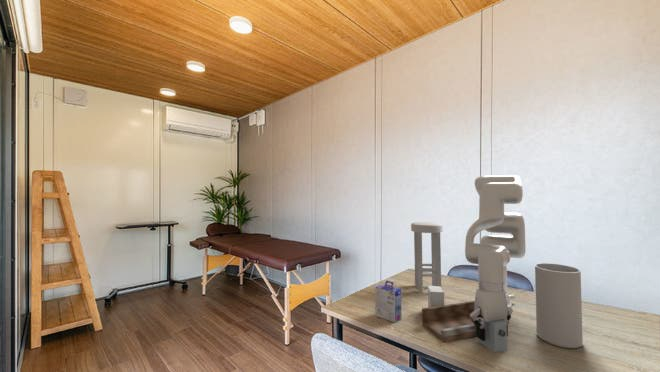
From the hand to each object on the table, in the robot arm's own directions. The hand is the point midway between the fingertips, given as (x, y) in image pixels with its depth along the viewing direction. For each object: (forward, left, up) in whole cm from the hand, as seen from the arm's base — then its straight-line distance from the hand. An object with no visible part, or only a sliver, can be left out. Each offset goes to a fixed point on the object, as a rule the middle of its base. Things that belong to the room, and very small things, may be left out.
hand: (492, 336), depth 96 cm
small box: (+2, -27, -3) cm, 27 cm away
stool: (-13, -54, -3) cm, 56 cm away
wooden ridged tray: (0, -13, -3) cm, 13 cm away
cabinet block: (0, 0, -3) cm, 3 cm away
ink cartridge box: (+23, -30, -3) cm, 38 cm away
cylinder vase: (-25, +4, -3) cm, 26 cm away
